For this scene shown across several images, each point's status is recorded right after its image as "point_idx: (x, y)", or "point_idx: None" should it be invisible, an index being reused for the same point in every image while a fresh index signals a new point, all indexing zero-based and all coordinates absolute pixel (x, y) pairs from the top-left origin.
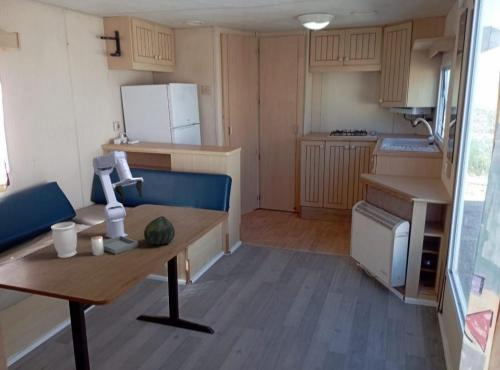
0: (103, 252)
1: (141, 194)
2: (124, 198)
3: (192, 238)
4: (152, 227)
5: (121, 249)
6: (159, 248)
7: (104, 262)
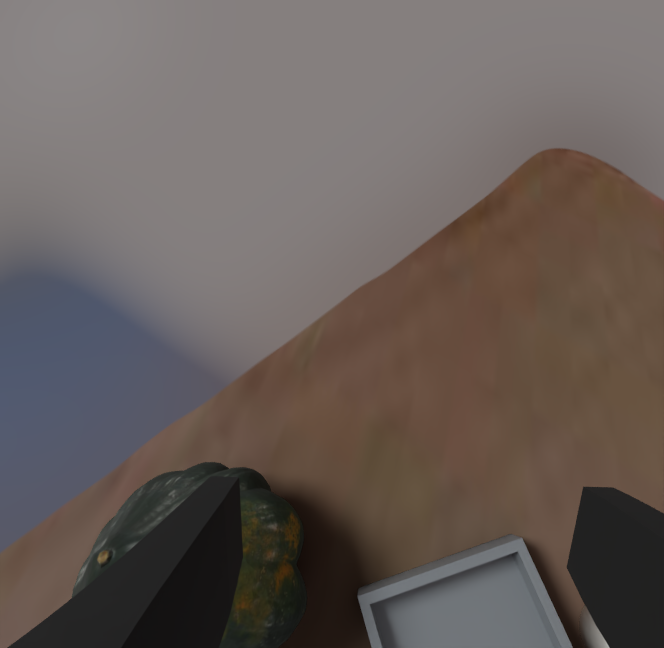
0: (585, 612)
1: (206, 485)
2: (632, 499)
3: (66, 503)
4: (249, 518)
5: (473, 551)
6: (270, 468)
7: (572, 451)
